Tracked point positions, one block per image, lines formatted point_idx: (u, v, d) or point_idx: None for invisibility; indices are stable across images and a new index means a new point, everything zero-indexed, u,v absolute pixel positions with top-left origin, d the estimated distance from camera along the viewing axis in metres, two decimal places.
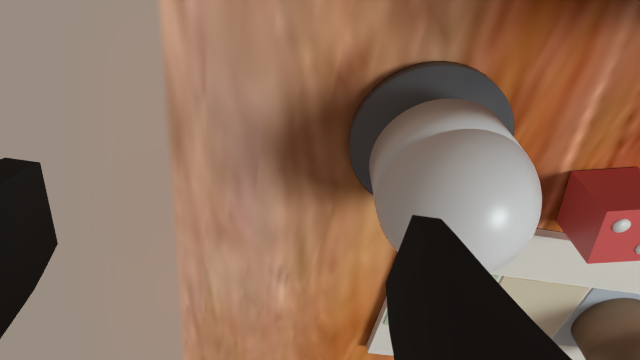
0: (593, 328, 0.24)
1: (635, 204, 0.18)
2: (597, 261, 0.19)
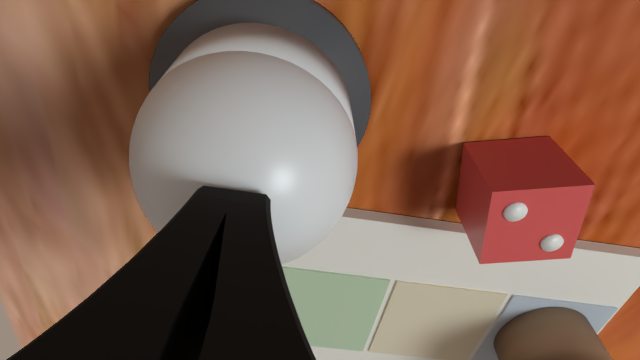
0: (514, 345, 0.19)
1: (532, 182, 0.13)
2: (494, 260, 0.15)
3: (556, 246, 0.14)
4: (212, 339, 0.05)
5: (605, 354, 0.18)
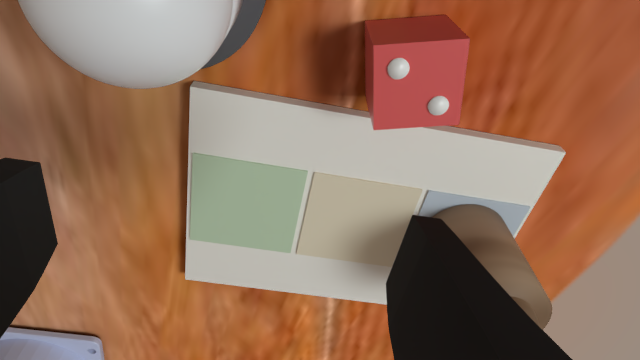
0: None
1: (413, 39, 0.14)
2: (387, 127, 0.15)
3: (442, 109, 0.15)
4: None
5: (511, 241, 0.18)
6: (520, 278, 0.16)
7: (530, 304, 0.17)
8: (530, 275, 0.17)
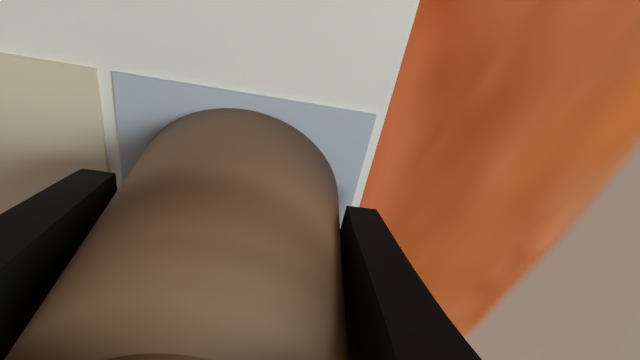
0: None
1: None
2: None
3: None
4: (403, 358, 0.05)
5: (286, 189, 0.07)
6: (211, 292, 0.05)
7: None
8: (272, 283, 0.05)
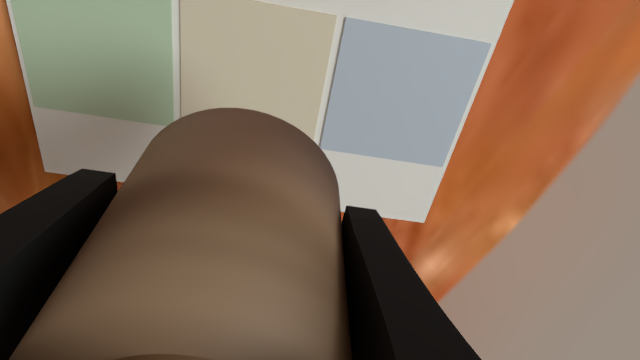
0: None
1: None
2: None
3: None
4: (402, 358, 0.05)
5: (289, 188, 0.07)
6: (216, 292, 0.05)
7: None
8: (277, 283, 0.05)
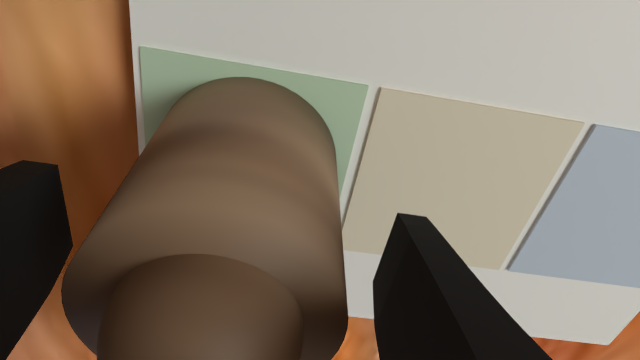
0: None
1: None
2: None
3: None
4: None
5: (293, 139, 0.08)
6: (237, 203, 0.06)
7: (277, 279, 0.06)
8: (284, 203, 0.06)
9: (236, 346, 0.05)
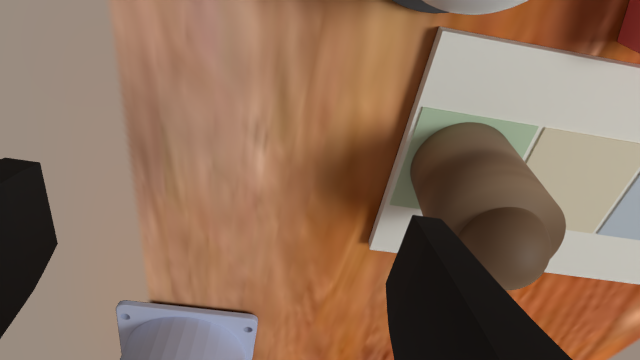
0: (425, 160, 0.17)
1: None
2: None
3: None
4: None
5: (518, 156, 0.16)
6: (529, 185, 0.14)
7: (540, 218, 0.14)
8: (540, 186, 0.14)
9: (541, 241, 0.13)
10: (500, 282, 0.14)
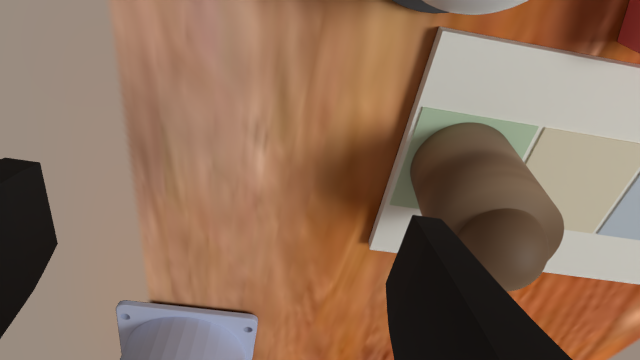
0: (425, 160, 0.17)
1: None
2: None
3: None
4: None
5: (517, 157, 0.16)
6: (527, 187, 0.14)
7: (538, 220, 0.14)
8: (538, 187, 0.14)
9: (538, 242, 0.13)
10: None
